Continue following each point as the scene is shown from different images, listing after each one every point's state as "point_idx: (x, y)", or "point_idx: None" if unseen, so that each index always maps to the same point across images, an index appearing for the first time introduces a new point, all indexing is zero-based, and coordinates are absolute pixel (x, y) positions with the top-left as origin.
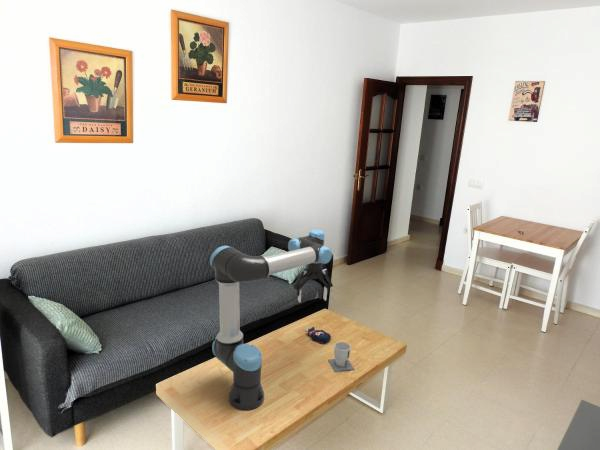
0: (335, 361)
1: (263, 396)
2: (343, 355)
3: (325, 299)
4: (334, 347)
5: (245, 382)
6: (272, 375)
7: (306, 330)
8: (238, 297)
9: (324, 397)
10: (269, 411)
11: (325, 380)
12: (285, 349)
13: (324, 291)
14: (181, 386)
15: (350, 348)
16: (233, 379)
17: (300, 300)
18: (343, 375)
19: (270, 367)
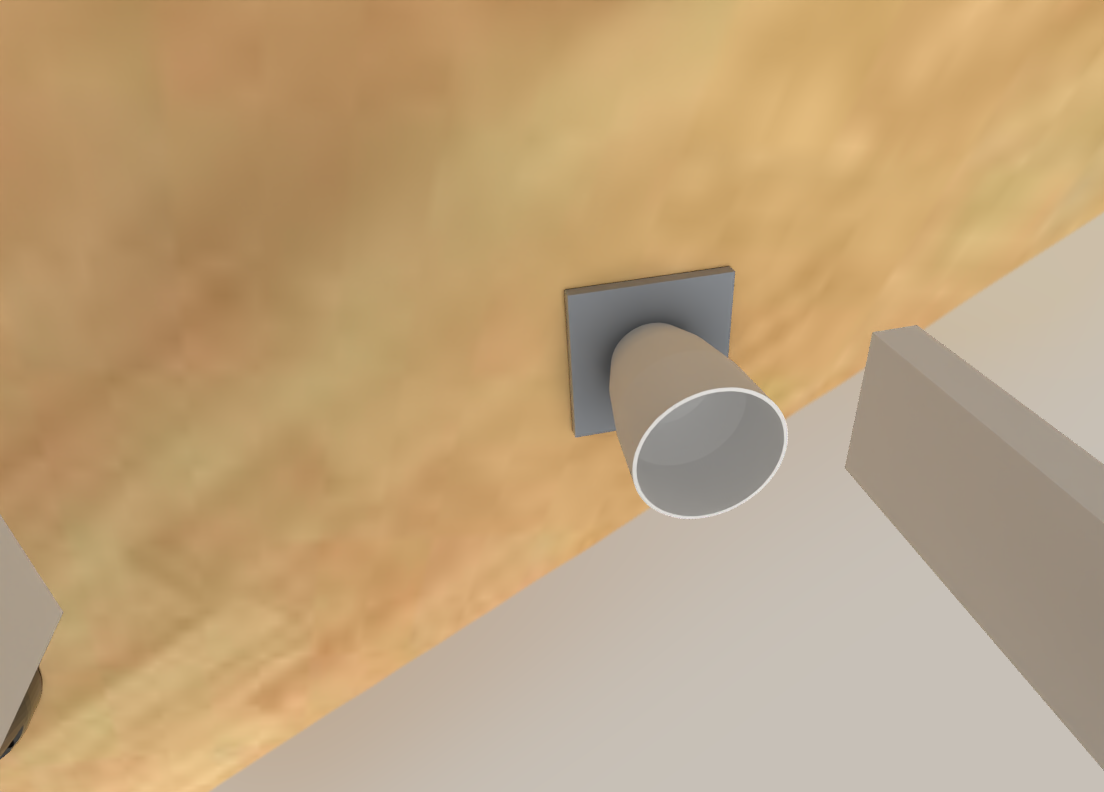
0: (618, 325)
1: (27, 720)
2: (674, 482)
3: (876, 484)
4: (630, 446)
5: None
6: (52, 468)
7: None
8: None
9: (437, 634)
10: (100, 738)
11: (478, 508)
12: (125, 43)
13: (1064, 581)
14: None
15: (762, 486)
16: None
17: (23, 671)
18: (619, 460)
19: (6, 368)
